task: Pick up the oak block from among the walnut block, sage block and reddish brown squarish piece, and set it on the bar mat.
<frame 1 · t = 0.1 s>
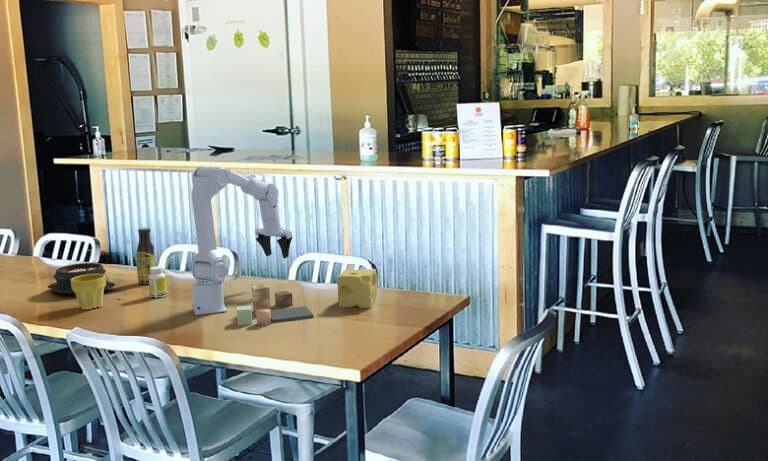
hand: (277, 256, 266), 11 cm above the table, tool pointing down, fingers open, 7 cm apart
bar mat: (290, 315, 233), on the table
plant pot: (91, 307, 251), on the table
sage block: (245, 322, 228), on the table
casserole: (81, 291, 273), on the table
sauce bottle: (147, 283, 280), on the table
supplement bottle: (158, 297, 261), on the table
oak block: (262, 312, 238), on the table
cheese: (357, 304, 244), on the table
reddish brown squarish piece: (264, 323, 226), on the table
walnut block: (284, 305, 245), on the table
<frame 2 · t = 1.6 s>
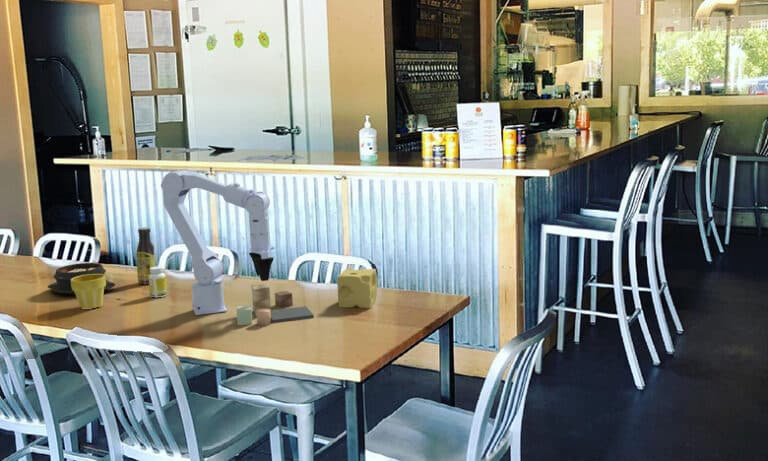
hand: (262, 277, 237), 10 cm above the table, tool pointing down, fingers open, 7 cm apart
nothing on the table moved.
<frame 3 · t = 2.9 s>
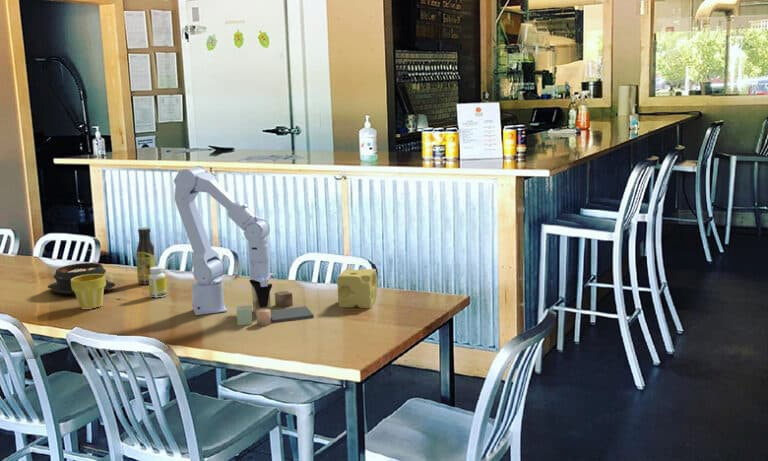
hand: (262, 304, 237), 2 cm above the table, tool pointing down, fingers open, 5 cm apart
oak block: (262, 312, 238), on the table, touching bar mat, gripper
everything else where it was.
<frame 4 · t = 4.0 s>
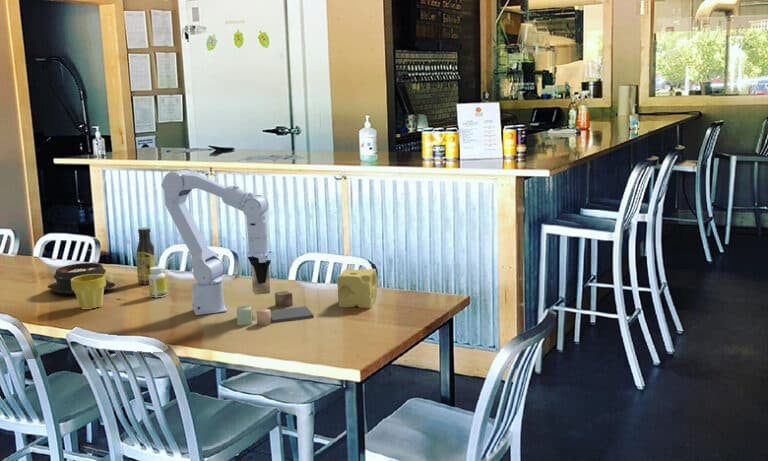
hand: (260, 281, 236), 10 cm above the table, tool pointing down, fingers closed on oak block, 4 cm apart
oak block: (261, 292, 237), point 6 cm above the table, touching gripper
everything else where it was.
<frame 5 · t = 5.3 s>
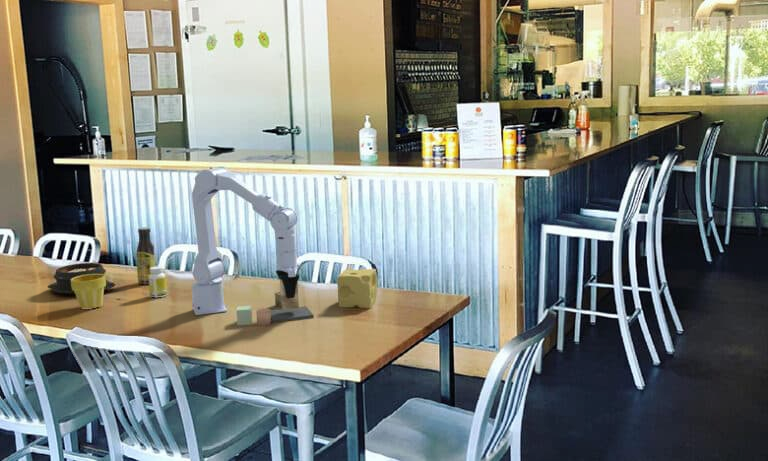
hand: (288, 295, 232), 6 cm above the table, tool pointing down, fingers closed on oak block, 4 cm apart
oak block: (289, 306, 233), point 3 cm above the table, touching gripper
everything else where it was.
when the fingers open (4 cm above the table, at t = 6.1 s): oak block stays where it is, resting on bar mat.
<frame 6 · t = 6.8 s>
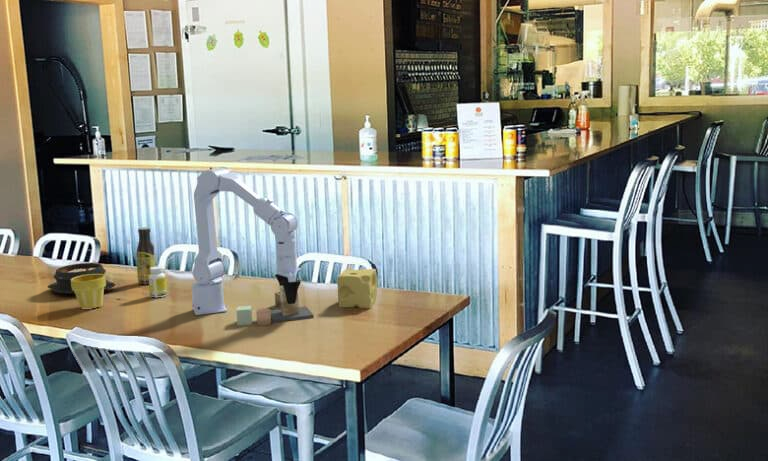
hand: (288, 300, 233), 5 cm above the table, tool pointing down, fingers open, 7 cm apart
oak block: (290, 312, 233), point 1 cm above the table, touching bar mat
everything else where it was.
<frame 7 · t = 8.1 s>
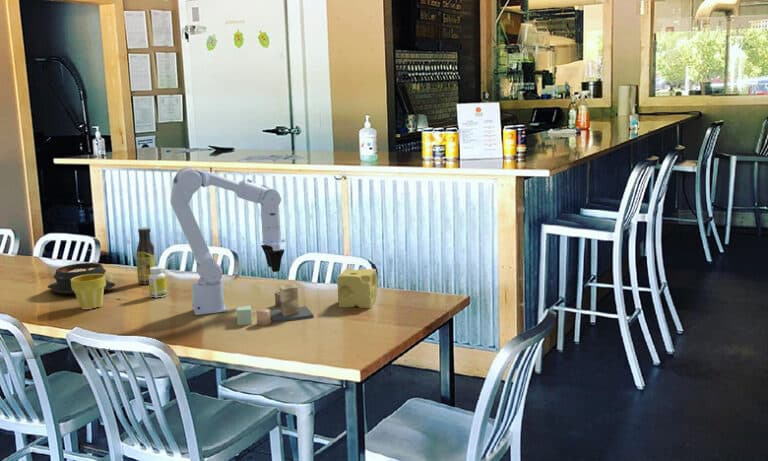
hand: (273, 269, 248), 10 cm above the table, tool pointing down, fingers open, 7 cm apart
nothing on the table moved.
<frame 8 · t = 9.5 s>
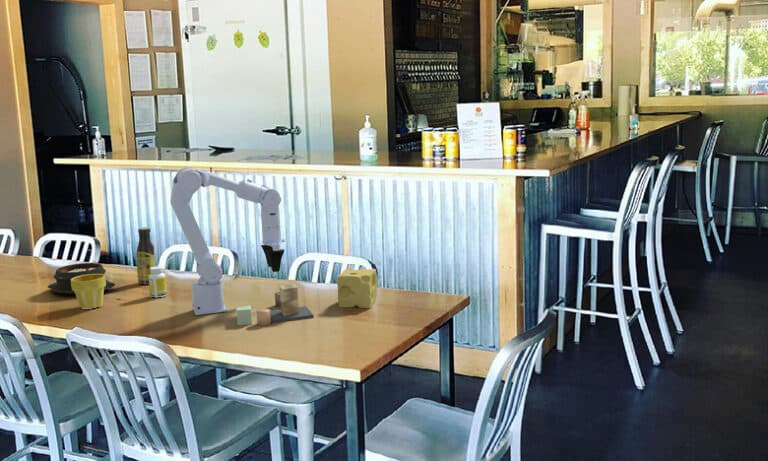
hand: (273, 269, 248), 10 cm above the table, tool pointing down, fingers open, 7 cm apart
nothing on the table moved.
at the end: oak block inside the target area on the bar mat (0.1 cm from its centre), point 0.8 cm above the bar mat's base; oak block tilted 0°; the gripper is holding nothing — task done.
